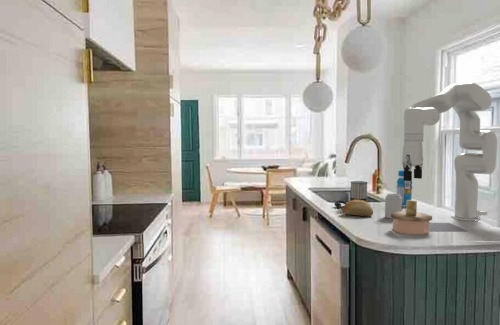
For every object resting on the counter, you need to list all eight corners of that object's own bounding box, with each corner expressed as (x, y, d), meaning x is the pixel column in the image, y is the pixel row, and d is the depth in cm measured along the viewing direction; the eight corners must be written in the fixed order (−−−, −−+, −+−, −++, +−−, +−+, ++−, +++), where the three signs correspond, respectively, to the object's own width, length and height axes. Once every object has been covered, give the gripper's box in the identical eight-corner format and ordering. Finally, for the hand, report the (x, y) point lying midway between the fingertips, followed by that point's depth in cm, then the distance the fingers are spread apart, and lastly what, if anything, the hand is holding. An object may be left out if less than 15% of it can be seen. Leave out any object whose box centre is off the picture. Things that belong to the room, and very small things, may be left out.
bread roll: (342, 213, 216) (342, 197, 215) (372, 214, 212) (373, 198, 212) (341, 216, 207) (342, 200, 206) (373, 218, 203) (373, 201, 202)
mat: (449, 223, 190) (449, 222, 190) (468, 232, 173) (468, 231, 173) (413, 223, 190) (413, 222, 190) (430, 232, 173) (430, 231, 173)
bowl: (419, 228, 181) (420, 214, 181) (433, 235, 168) (433, 220, 168) (389, 228, 181) (390, 214, 181) (400, 235, 168) (401, 220, 168)
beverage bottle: (394, 205, 238) (395, 170, 236) (398, 203, 244) (399, 169, 243) (409, 207, 233) (410, 171, 231) (413, 205, 240) (414, 170, 238)
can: (402, 220, 197) (403, 195, 196) (385, 219, 199) (386, 194, 198) (400, 217, 204) (400, 193, 204) (384, 216, 206) (384, 192, 205)
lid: (422, 213, 182) (422, 197, 182) (439, 221, 166) (439, 204, 166) (385, 213, 182) (386, 197, 182) (398, 221, 166) (399, 203, 166)
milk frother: (370, 210, 225) (371, 182, 224) (344, 211, 220) (344, 183, 219) (357, 205, 238) (357, 179, 237) (331, 206, 234) (332, 180, 233)
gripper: (413, 137, 181) (412, 176, 182) (395, 138, 169) (394, 180, 170) (431, 137, 175) (430, 178, 177) (413, 138, 163) (412, 182, 165)
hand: (412, 179), depth 173 cm, fingers open, 9 cm apart
